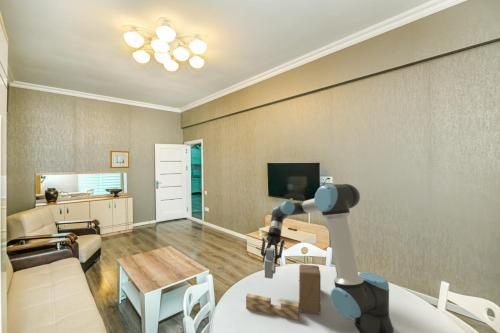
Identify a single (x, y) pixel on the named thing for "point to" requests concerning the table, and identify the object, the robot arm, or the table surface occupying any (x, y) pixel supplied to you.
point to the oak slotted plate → (272, 306)
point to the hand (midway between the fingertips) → (268, 269)
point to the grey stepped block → (269, 263)
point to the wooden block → (309, 289)
